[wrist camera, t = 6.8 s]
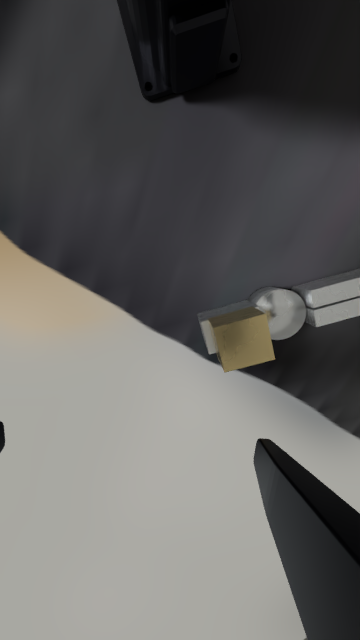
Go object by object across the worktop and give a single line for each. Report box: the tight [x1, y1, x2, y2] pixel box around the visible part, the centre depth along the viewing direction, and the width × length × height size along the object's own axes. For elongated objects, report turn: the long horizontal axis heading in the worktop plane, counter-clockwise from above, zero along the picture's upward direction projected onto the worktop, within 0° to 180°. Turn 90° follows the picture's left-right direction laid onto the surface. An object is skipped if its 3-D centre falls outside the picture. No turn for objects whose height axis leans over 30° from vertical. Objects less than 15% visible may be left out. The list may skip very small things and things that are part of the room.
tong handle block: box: [197, 287, 306, 354], centre depth 17 cm, size 7×4×3 cm, turn 106°
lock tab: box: [208, 306, 275, 372], centre depth 14 cm, size 3×3×2 cm
